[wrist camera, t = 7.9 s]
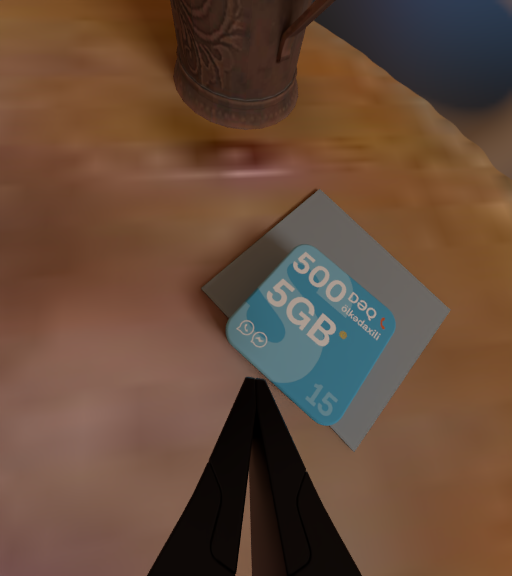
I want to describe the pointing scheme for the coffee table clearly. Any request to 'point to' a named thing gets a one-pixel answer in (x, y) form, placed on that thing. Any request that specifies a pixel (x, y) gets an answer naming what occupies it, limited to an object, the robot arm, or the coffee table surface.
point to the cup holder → (241, 57)
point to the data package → (312, 332)
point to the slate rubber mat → (365, 271)
